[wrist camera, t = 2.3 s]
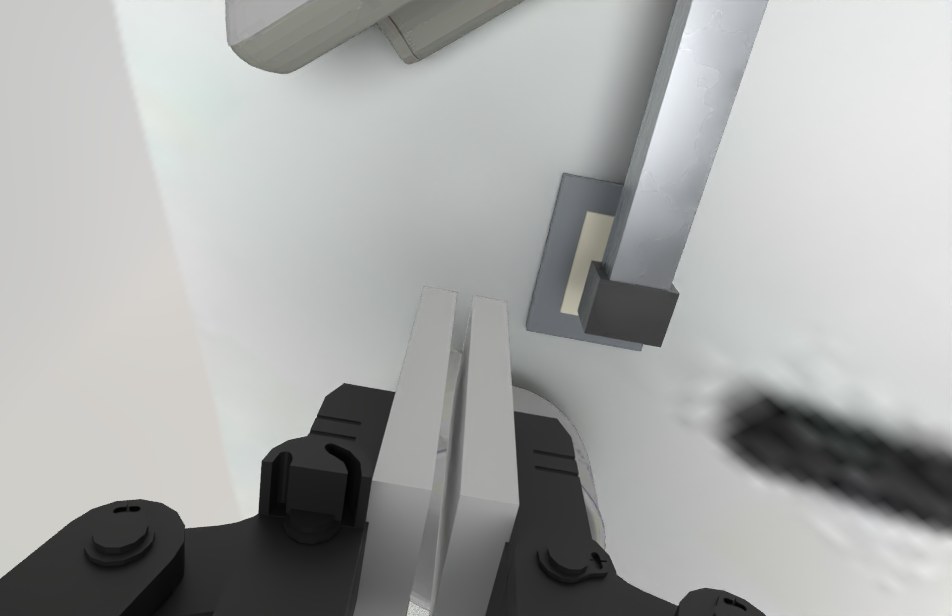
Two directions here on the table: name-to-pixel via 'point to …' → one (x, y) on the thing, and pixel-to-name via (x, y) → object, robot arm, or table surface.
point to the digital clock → (348, 27)
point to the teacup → (427, 553)
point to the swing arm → (669, 169)
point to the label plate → (574, 257)
